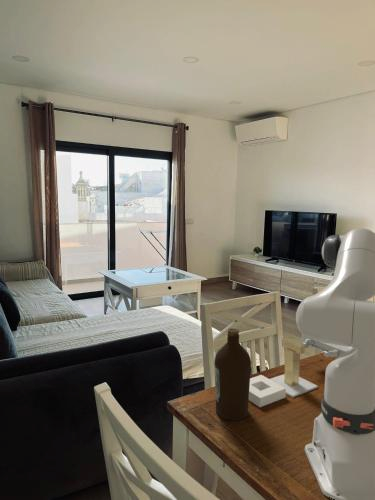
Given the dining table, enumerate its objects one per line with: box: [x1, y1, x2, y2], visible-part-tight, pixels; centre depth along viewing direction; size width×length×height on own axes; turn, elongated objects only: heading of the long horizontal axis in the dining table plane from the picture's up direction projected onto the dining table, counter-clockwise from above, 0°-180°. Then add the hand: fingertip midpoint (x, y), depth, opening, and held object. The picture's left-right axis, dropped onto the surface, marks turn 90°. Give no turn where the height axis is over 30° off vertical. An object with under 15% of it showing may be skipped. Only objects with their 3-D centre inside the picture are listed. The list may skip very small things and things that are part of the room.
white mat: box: [269, 374, 319, 398], centre depth 123 cm, size 12×12×1 cm
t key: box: [281, 337, 306, 386], centre depth 122 cm, size 8×3×14 cm, turn 32°
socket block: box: [248, 374, 287, 408], centre depth 116 cm, size 11×11×3 cm
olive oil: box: [213, 327, 252, 421], centre depth 105 cm, size 11×11×25 cm
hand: (314, 349), depth 127 cm, fingers open, 8 cm apart
